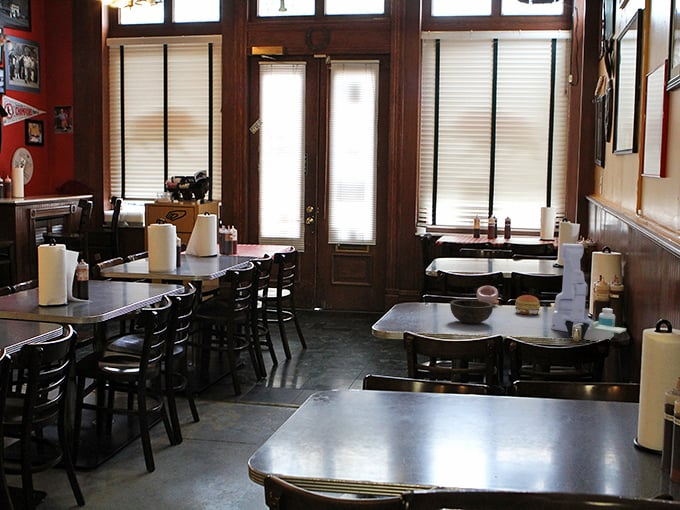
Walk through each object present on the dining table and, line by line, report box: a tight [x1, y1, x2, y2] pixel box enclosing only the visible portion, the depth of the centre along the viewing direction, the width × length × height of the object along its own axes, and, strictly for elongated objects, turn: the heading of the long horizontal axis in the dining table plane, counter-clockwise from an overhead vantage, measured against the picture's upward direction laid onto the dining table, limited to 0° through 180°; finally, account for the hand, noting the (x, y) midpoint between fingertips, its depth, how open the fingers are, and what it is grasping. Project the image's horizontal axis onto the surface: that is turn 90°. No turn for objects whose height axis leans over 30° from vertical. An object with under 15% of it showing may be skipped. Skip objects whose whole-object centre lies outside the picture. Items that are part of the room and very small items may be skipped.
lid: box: [590, 320, 627, 334], centre depth 394 cm, size 14×9×2 cm, turn 53°
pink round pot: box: [476, 284, 499, 305], centre depth 480 cm, size 12×12×12 cm
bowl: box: [449, 299, 494, 325], centre depth 428 cm, size 22×22×10 cm
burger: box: [514, 294, 541, 315], centre depth 458 cm, size 14×14×10 cm
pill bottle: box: [598, 307, 616, 339], centre depth 405 cm, size 8×7×14 cm
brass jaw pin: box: [572, 329, 580, 343], centre depth 394 cm, size 3×3×5 cm
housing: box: [572, 323, 612, 342], centre depth 399 cm, size 16×10×6 cm, turn 53°
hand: (576, 337), depth 394 cm, fingers open, 5 cm apart
